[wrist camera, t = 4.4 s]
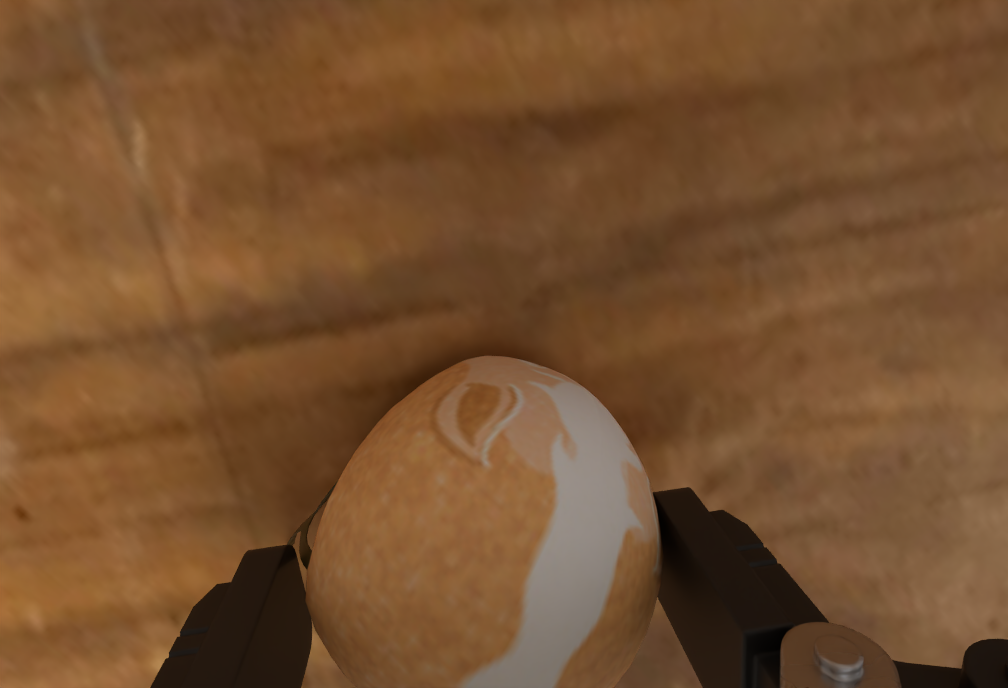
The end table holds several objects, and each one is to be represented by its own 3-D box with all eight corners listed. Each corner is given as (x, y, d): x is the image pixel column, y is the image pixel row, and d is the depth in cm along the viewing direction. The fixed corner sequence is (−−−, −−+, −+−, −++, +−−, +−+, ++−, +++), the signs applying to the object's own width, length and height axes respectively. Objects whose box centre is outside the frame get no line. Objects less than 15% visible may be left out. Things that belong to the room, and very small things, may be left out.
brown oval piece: (511, 512, 18) (738, 411, 12) (430, 787, 13) (730, 832, 7) (339, 407, 16) (506, 234, 10) (180, 679, 12) (323, 632, 6)
